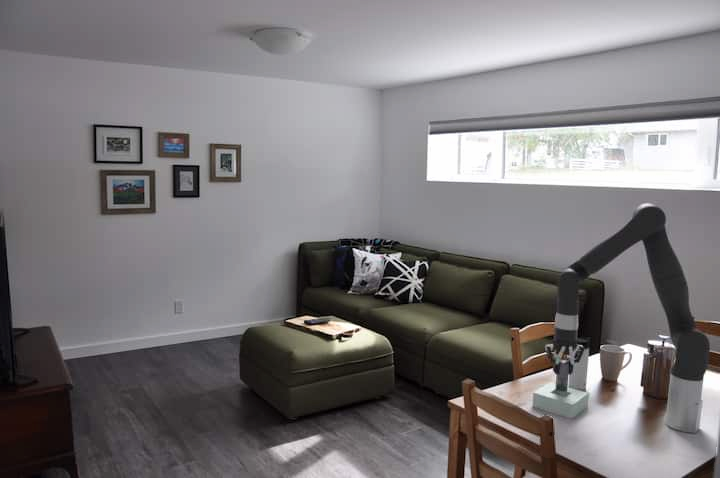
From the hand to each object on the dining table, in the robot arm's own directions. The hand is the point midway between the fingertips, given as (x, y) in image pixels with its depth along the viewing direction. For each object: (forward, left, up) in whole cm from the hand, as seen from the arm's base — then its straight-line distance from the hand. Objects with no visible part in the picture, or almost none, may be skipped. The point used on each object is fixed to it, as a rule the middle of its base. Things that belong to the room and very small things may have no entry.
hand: (562, 373), depth 194 cm
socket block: (0, 0, -12) cm, 12 cm away
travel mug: (+2, -21, -12) cm, 24 cm away
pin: (0, 0, -6) cm, 6 cm away
